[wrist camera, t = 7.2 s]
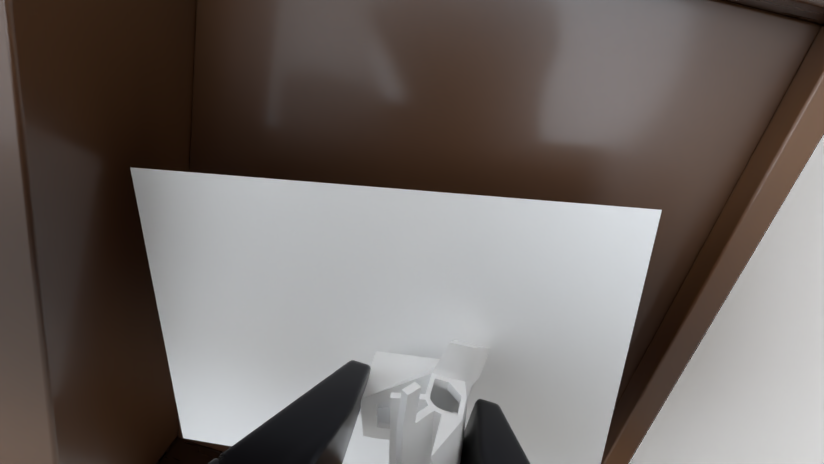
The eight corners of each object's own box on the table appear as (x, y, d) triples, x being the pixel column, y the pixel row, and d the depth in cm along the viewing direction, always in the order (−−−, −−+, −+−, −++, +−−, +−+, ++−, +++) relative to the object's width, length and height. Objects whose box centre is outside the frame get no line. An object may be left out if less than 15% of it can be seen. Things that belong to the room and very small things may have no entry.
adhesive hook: (480, 425, 10) (473, 572, 8) (365, 408, 11) (316, 541, 8) (493, 304, 9) (491, 423, 6) (364, 290, 10) (306, 396, 7)
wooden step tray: (538, 493, 18) (574, 862, 10) (83, 351, 19) (-218, 582, 11) (787, -3, 11) (1568, -107, 3) (50, -183, 12) (-830, -616, 4)
